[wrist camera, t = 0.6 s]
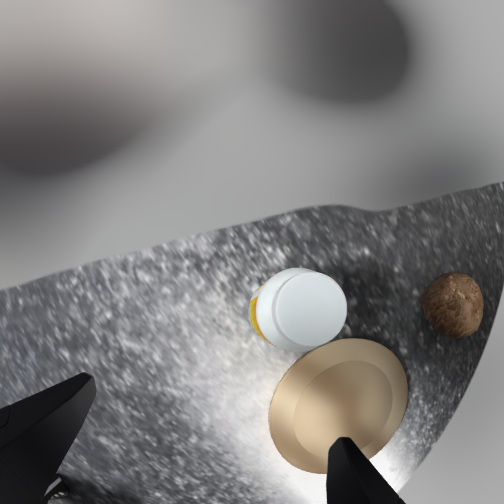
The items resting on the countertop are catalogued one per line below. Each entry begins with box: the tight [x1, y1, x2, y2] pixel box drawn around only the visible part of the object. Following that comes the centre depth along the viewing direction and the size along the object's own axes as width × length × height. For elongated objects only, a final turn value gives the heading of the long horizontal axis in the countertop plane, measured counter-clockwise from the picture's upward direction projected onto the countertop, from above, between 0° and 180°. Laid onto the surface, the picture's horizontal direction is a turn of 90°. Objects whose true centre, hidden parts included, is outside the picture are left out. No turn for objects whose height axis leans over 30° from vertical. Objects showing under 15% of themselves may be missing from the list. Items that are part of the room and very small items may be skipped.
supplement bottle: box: [249, 268, 347, 353], centre depth 19 cm, size 5×5×10 cm
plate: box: [268, 338, 408, 474], centre depth 21 cm, size 14×14×1 cm
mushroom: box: [422, 272, 484, 338], centre depth 22 cm, size 8×8×6 cm
